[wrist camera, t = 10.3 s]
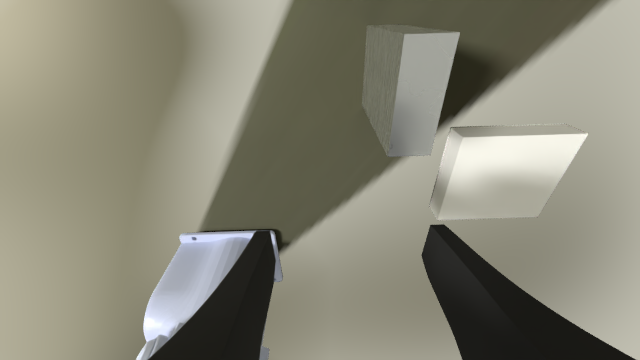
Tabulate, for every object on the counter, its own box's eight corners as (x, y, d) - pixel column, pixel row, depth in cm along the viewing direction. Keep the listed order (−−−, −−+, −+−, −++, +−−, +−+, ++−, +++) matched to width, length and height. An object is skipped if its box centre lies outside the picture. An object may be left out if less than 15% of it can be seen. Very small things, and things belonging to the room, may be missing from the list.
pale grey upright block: (362, 105, 18) (387, 156, 12) (367, 25, 16) (404, 34, 9) (389, 104, 18) (430, 155, 12) (398, 24, 16) (459, 32, 9)
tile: (437, 220, 22) (537, 217, 22) (462, 137, 18) (588, 133, 18) (427, 204, 24) (520, 201, 24) (449, 125, 20) (562, 122, 20)
